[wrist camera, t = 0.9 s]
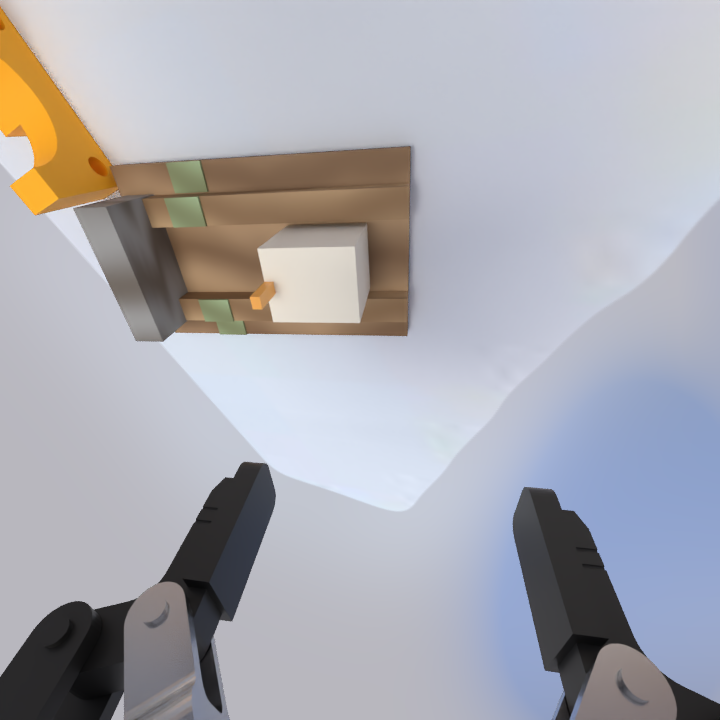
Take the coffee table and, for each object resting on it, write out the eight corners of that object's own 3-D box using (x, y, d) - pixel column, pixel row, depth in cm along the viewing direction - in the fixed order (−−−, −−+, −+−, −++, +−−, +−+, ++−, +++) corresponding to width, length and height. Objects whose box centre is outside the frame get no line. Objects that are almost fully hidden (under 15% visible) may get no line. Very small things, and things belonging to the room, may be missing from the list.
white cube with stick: (287, 225, 26) (240, 261, 19) (367, 222, 25) (347, 259, 19) (297, 288, 29) (260, 339, 22) (370, 288, 28) (354, 341, 21)
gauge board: (120, 164, 27) (51, 174, 22) (410, 146, 24) (408, 152, 19) (182, 326, 35) (141, 361, 30) (407, 329, 31) (405, 368, 26)
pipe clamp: (-44, 32, 24) (-176, 6, 19) (-8, -8, 22) (-140, -48, 17) (91, 207, 29) (19, 226, 24) (127, 184, 28) (58, 198, 23)
